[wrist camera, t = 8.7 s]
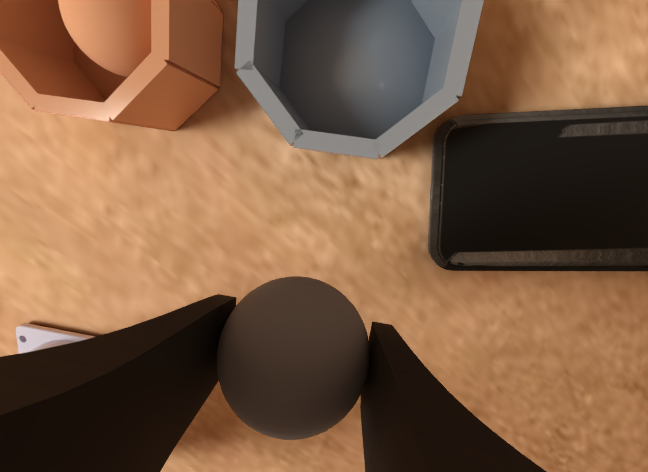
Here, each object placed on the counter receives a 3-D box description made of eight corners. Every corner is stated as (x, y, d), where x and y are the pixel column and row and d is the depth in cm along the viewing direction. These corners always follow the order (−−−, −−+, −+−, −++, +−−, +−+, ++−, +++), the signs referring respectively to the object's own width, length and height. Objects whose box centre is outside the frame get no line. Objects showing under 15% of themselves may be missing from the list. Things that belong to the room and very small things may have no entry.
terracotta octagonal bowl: (217, 137, 17) (168, 129, 12) (74, 117, 17) (-21, 103, 13) (225, -47, 15) (170, -134, 10) (62, -63, 15) (-57, -151, 11)
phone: (752, 271, 15) (430, 270, 17) (724, 263, 16) (425, 263, 18) (806, 94, 13) (437, 113, 15) (771, 99, 14) (432, 116, 16)
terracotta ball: (180, 93, 17) (180, 80, 13) (78, 73, 15) (44, 51, 11) (182, 0, 16) (183, -45, 12) (73, -35, 14) (32, -101, 10)
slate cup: (421, 165, 16) (445, 168, 12) (264, 143, 17) (230, 138, 12) (461, -25, 14) (508, -108, 10) (279, -43, 14) (245, -128, 10)
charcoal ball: (356, 377, 12) (356, 500, 7) (244, 355, 12) (182, 463, 8) (377, 268, 11) (390, 342, 6) (253, 248, 11) (186, 305, 7)
